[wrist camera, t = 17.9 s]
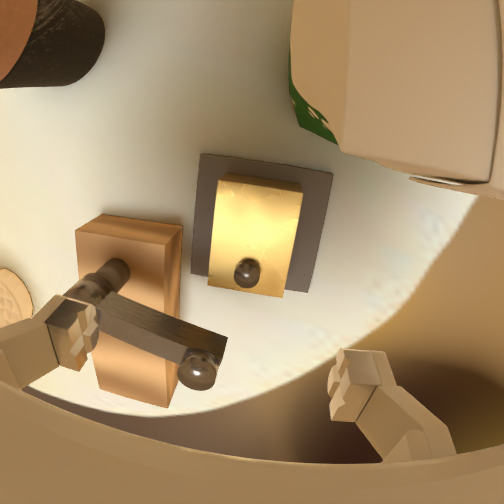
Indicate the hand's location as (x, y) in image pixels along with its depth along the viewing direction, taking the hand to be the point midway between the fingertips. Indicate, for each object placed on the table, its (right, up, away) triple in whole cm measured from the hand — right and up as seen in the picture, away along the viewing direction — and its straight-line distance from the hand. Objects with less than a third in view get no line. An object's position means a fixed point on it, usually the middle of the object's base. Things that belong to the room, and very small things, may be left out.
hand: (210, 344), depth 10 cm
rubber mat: (+2, +5, +13) cm, 14 cm away
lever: (-5, -1, +9) cm, 10 cm away
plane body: (-8, -2, +17) cm, 19 cm away
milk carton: (+8, +14, +9) cm, 19 cm away
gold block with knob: (+2, +5, +13) cm, 14 cm away
